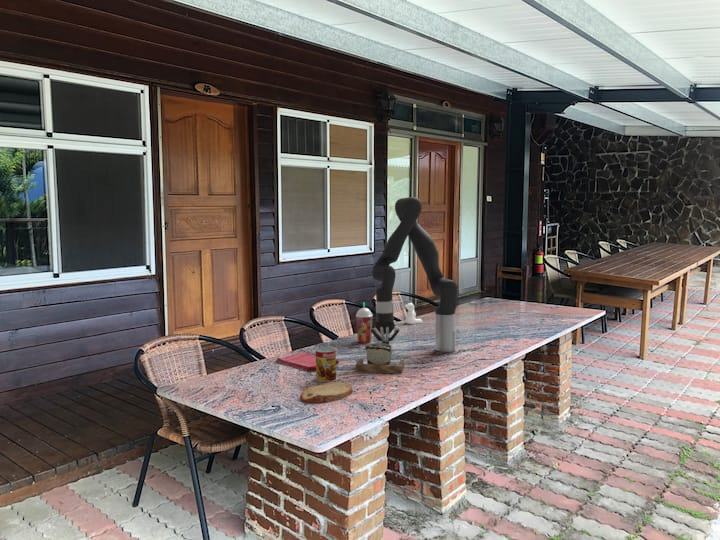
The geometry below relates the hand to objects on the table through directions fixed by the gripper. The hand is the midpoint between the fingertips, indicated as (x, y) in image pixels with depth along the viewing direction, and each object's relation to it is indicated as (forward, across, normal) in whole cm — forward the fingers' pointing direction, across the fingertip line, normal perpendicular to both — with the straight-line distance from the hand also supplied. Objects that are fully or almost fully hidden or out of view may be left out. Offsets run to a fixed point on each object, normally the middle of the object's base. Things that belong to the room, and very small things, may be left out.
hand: (385, 350), depth 261 cm
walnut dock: (+5, +1, +12) cm, 13 cm away
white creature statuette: (+6, -4, -81) cm, 81 cm away
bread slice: (+5, +15, +48) cm, 50 cm away
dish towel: (+5, +34, +7) cm, 35 cm away
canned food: (+5, +20, +29) cm, 35 cm away
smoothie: (+5, +15, -33) cm, 37 cm away
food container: (+5, +1, +10) cm, 12 cm away
